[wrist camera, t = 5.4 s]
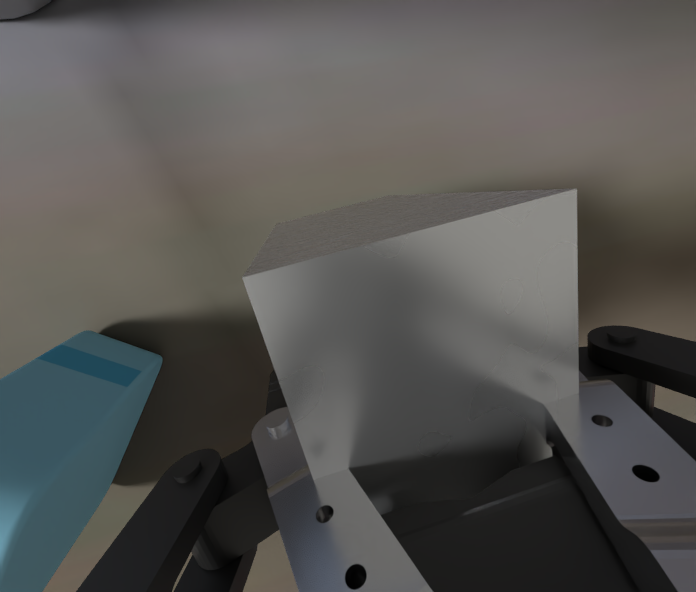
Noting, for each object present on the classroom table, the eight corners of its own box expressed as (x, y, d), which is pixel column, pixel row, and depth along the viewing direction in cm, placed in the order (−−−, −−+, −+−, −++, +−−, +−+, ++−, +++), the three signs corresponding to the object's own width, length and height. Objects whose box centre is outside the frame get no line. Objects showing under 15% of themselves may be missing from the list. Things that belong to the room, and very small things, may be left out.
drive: (276, 223, 12) (242, 277, 4) (387, 195, 13) (577, 188, 4) (338, 431, 16) (394, 710, 7) (427, 403, 16) (581, 636, 7)
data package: (95, 321, 20) (-164, 470, 9) (170, 347, 21) (25, 510, 10) (39, 473, 22) (-233, 755, 11) (109, 490, 23) (-69, 761, 12)
